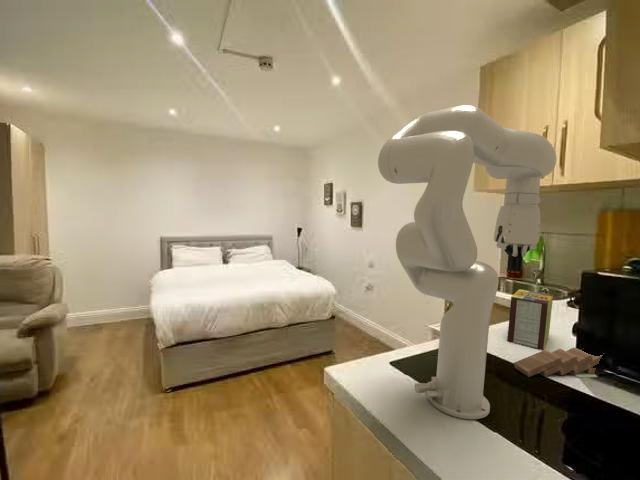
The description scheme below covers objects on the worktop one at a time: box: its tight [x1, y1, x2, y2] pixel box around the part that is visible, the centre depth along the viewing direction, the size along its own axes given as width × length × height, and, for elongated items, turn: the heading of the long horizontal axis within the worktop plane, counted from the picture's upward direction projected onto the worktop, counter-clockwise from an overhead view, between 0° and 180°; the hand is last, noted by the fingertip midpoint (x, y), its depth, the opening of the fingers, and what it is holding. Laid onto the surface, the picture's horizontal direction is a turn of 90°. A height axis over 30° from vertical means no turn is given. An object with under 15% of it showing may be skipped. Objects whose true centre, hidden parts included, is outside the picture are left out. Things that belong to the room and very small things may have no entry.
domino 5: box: [583, 367, 596, 375], centre depth 91 cm, size 2×5×10 cm
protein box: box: [506, 288, 554, 351], centre depth 112 cm, size 10×15×16 cm
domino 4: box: [570, 355, 603, 376], centre depth 90 cm, size 2×5×10 cm
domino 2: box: [539, 348, 578, 378], centre depth 89 cm, size 2×5×10 cm
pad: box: [568, 371, 598, 379], centre depth 90 cm, size 6×7×1 cm
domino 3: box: [555, 346, 593, 377], centre depth 89 cm, size 2×5×10 cm
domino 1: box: [513, 349, 562, 378], centre depth 88 cm, size 2×5×10 cm
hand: (514, 270), depth 87 cm, fingers closed
